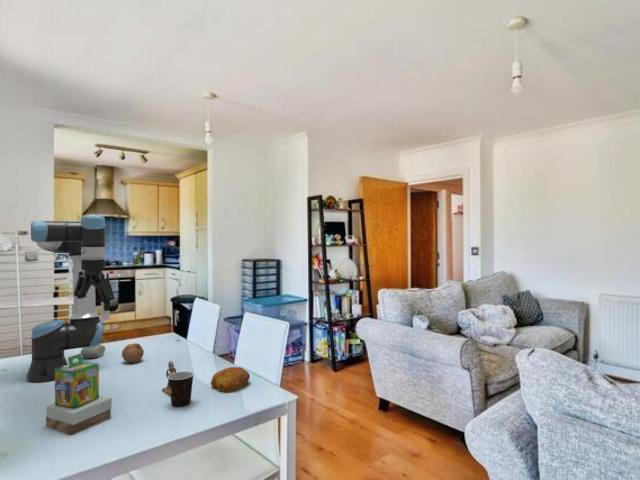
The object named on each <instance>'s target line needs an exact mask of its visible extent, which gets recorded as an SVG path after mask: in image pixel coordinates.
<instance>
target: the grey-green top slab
mask: <svg viewBox="0 0 640 480" xmlns="http://www.w3.org/2000/svg"><path fill="white" fill-rule="evenodd" d="M112 399H113V398H112V397H109V396H105V395H101V394H99V398H97V399H95V400H92V401H90V402H87V403H85V404H83V405H80V406H78V407H76V408H74V407H68V406H61V405H55V402H54V403H51V404H49V405H46V417H48V418H51V419H54V420H58V421H61V422H64V423H67V424H71V425H75V424H77V423H79V422H82V421H84V420H86V419H89V418H91V417H93V416H96V415H98V414H100V413H103V412H105V411H107V410H110V409H112V408H113V406H112V405H113V404H112V403H113V400H112ZM112 410H113V409H112Z"/></svg>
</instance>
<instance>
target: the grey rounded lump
mask: <svg viewBox="0 0 640 480" xmlns="http://www.w3.org/2000/svg"><path fill="white" fill-rule="evenodd" d="M105 351H106V347H105V346H104V345H103V344H101V343H100V344H98V345H96V346H91V347H83V348H81V350H80V354H81V356H82V358H85V359H95V358H96V359H97V358H99V357H100V356H102V355H104V353H105Z"/></svg>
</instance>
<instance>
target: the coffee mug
mask: <svg viewBox="0 0 640 480" xmlns="http://www.w3.org/2000/svg"><path fill="white" fill-rule="evenodd" d="M170 374H171V373H170ZM167 381H168V382H169V389H170V396H169V397H170V403H171V407H173V408H183V407H186V406H187V407H188V406H189V405H190V403H191V398H192V391H193V381H194V373H193V372H192V371H191V372H190V371H176V373H174V372H173V373H172V374H171V375H169V376H168V378H167ZM168 382H167V383H168Z"/></svg>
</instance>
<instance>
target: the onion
mask: <svg viewBox="0 0 640 480" xmlns="http://www.w3.org/2000/svg"><path fill="white" fill-rule="evenodd" d="M144 354H145V353H144V349H143V347H142V346H141V344H139V343H137V342H136V343H135V342H134V343H129V344H127V345H126V346H124V347H123V350H122V351H121V357H122V359H123V361H124V362H126V363H128V364H135V363H139V361H141V360H142V359H143V357H144Z"/></svg>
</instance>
